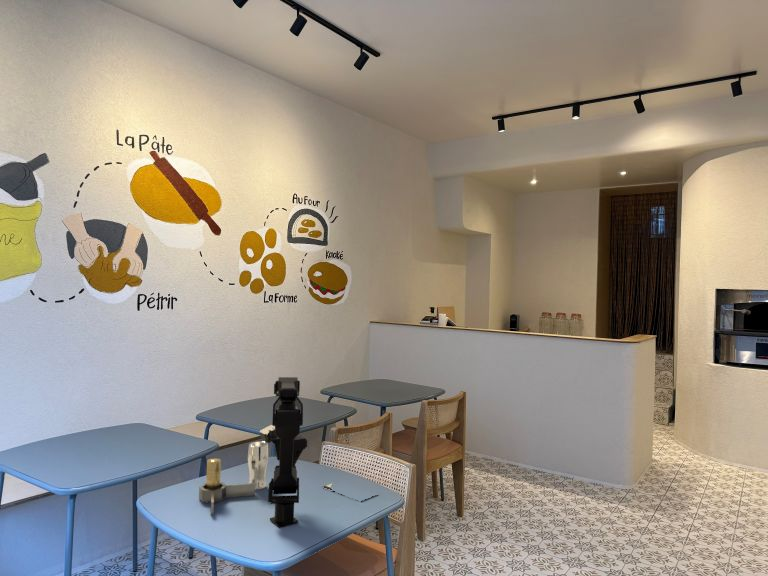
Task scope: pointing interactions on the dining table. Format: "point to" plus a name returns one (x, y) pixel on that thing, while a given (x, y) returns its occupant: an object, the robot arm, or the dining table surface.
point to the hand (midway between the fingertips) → (285, 463)
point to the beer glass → (258, 463)
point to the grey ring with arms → (225, 492)
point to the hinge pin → (213, 474)
